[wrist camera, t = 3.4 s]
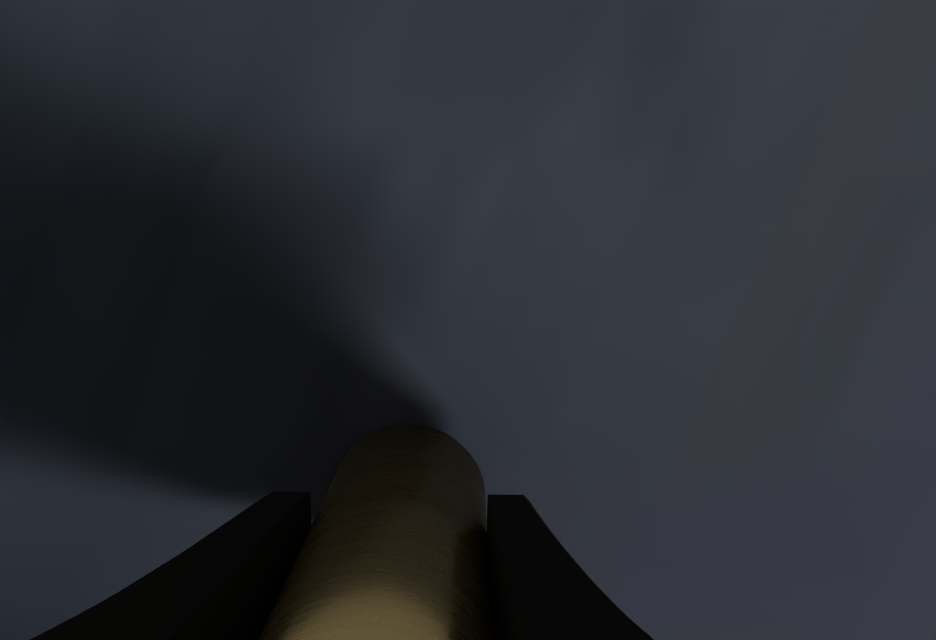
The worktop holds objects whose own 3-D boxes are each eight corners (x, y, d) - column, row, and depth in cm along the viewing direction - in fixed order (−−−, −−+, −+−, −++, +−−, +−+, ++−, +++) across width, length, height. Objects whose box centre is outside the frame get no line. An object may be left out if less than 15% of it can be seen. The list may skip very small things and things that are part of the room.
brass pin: (487, 426, 11) (521, 818, 4) (483, 564, 12) (507, 1102, 5) (330, 423, 11) (101, 816, 4) (335, 562, 12) (145, 1099, 5)
